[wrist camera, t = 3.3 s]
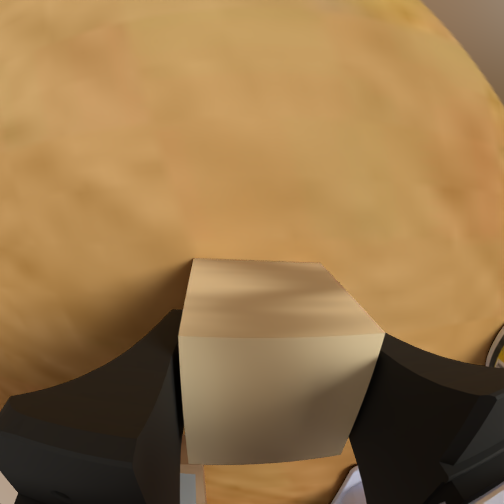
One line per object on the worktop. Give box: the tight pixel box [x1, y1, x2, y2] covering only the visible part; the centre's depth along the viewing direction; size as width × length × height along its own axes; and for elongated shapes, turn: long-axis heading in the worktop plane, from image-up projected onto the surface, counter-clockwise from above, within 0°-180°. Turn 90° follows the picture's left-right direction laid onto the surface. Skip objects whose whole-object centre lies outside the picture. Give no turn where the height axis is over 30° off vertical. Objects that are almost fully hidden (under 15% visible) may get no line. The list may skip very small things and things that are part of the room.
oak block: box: [178, 258, 385, 465], centre depth 9 cm, size 4×4×5 cm
